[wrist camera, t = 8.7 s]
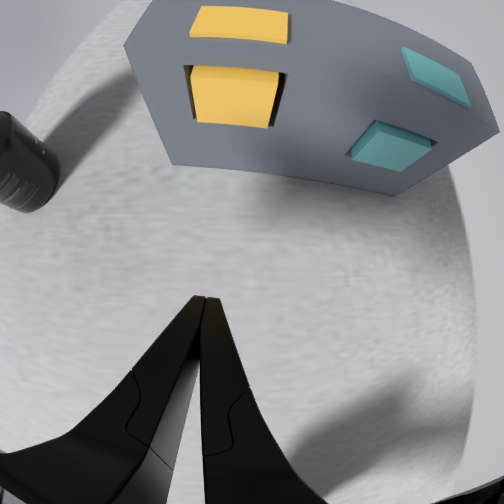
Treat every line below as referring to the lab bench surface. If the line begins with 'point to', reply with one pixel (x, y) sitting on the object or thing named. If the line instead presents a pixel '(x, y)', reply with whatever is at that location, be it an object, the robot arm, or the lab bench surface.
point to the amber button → (233, 95)
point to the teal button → (389, 146)
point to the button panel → (307, 88)
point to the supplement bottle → (24, 167)
